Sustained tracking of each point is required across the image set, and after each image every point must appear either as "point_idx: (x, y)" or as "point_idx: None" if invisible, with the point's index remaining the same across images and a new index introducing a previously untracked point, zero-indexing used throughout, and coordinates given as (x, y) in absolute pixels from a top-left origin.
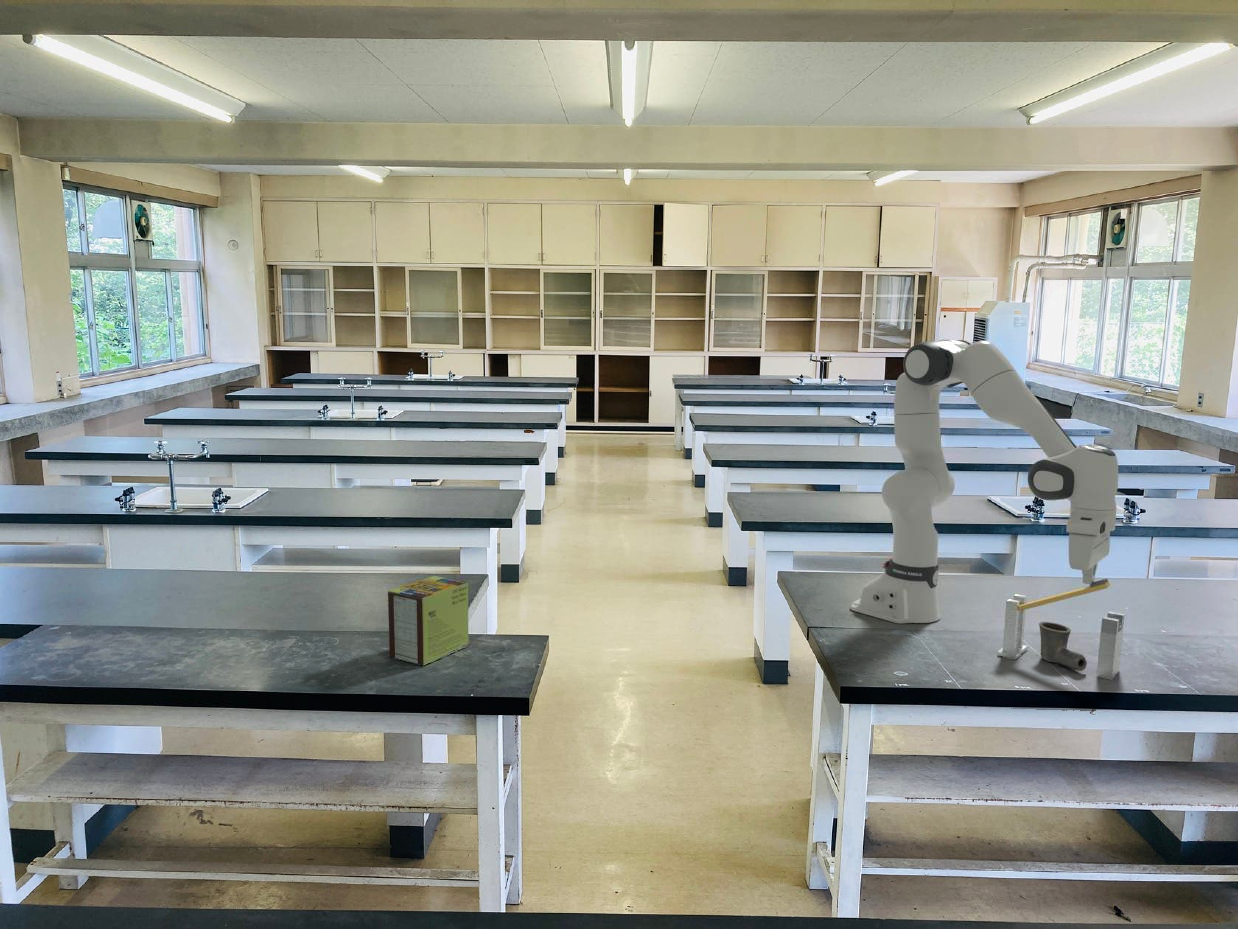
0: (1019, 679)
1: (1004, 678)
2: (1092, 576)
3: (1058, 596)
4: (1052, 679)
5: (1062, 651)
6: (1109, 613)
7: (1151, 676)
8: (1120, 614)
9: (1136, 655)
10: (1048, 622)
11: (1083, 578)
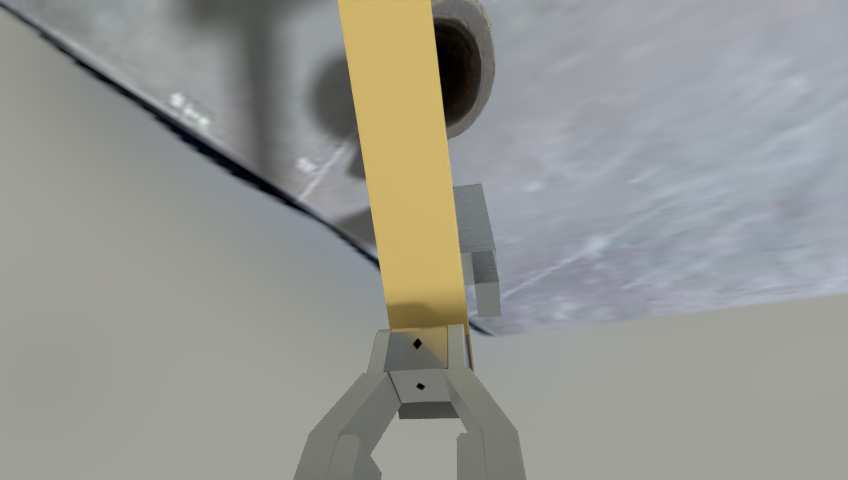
0: (220, 79)
1: (183, 44)
2: (398, 401)
3: (362, 155)
4: (303, 136)
5: None
6: (475, 287)
7: (499, 256)
8: (485, 311)
9: (638, 198)
10: (476, 27)
11: (372, 355)
